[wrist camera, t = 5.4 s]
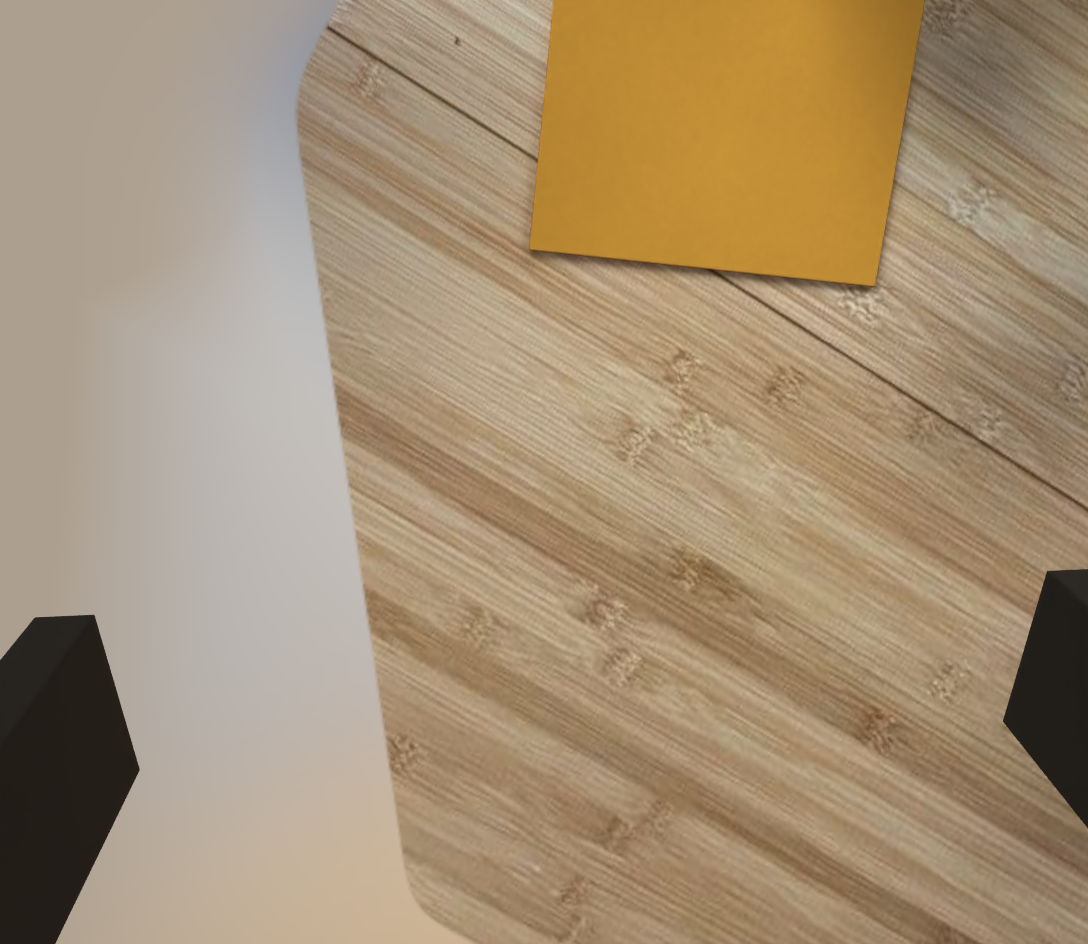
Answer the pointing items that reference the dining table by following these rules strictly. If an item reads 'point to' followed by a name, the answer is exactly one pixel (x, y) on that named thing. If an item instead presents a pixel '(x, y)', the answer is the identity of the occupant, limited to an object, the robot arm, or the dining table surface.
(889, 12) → the cloth
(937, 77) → the dining table surface
